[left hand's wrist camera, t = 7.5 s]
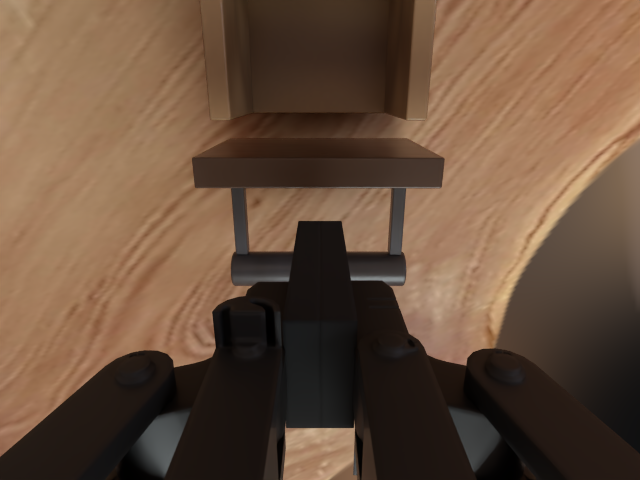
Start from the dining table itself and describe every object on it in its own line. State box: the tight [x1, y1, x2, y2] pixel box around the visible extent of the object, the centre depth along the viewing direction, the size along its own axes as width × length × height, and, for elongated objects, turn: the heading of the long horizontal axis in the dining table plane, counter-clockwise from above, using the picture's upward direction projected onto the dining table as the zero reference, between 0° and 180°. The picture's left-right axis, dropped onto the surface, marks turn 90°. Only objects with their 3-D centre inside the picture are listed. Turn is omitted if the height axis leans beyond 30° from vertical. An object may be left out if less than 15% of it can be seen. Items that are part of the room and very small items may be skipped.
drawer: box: [192, 0, 445, 286], centre depth 17 cm, size 25×10×7 cm, turn 0°
